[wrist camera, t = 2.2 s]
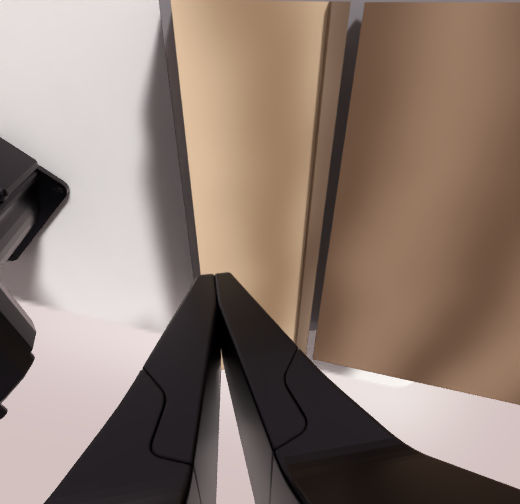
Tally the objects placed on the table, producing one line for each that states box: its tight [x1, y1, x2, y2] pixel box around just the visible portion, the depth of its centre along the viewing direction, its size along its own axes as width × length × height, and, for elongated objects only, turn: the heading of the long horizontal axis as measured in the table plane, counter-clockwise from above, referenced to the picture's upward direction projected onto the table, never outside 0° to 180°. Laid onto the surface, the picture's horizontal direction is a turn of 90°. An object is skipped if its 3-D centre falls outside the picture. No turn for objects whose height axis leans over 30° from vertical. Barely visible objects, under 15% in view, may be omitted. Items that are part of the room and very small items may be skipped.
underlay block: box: [159, 0, 520, 331], centre depth 20 cm, size 19×18×5 cm
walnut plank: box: [313, 2, 520, 405], centre depth 15 cm, size 12×17×2 cm
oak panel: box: [171, 0, 351, 370], centre depth 16 cm, size 5×17×3 cm, turn 0°
